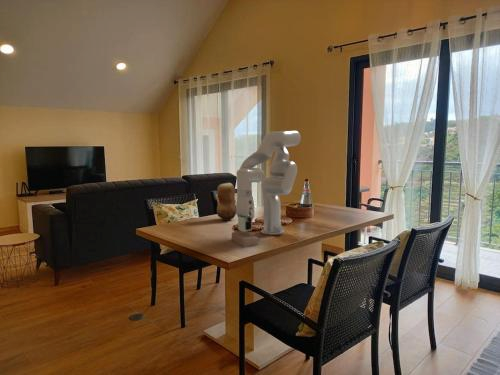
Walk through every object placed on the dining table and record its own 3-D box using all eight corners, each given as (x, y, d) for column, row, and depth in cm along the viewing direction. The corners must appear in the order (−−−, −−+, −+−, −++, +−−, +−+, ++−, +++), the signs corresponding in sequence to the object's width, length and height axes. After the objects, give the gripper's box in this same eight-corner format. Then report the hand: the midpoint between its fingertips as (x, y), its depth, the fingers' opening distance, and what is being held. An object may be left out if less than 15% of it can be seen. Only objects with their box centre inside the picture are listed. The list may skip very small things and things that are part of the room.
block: (251, 230, 192) (251, 216, 192) (244, 231, 190) (243, 218, 189) (246, 228, 196) (245, 215, 196) (238, 229, 194) (238, 216, 193)
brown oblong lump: (213, 219, 253) (212, 183, 250) (229, 217, 261) (228, 181, 258) (224, 223, 242) (223, 184, 239) (241, 220, 250) (240, 182, 247)
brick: (259, 245, 188) (259, 236, 188) (244, 247, 185) (244, 238, 184) (245, 238, 203) (245, 230, 203) (231, 240, 199) (230, 232, 199)
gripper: (260, 194, 186) (261, 230, 188) (240, 191, 200) (241, 224, 202) (248, 195, 182) (249, 232, 184) (229, 192, 195) (230, 226, 198)
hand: (245, 228), depth 193 cm, fingers closed on block, 5 cm apart
